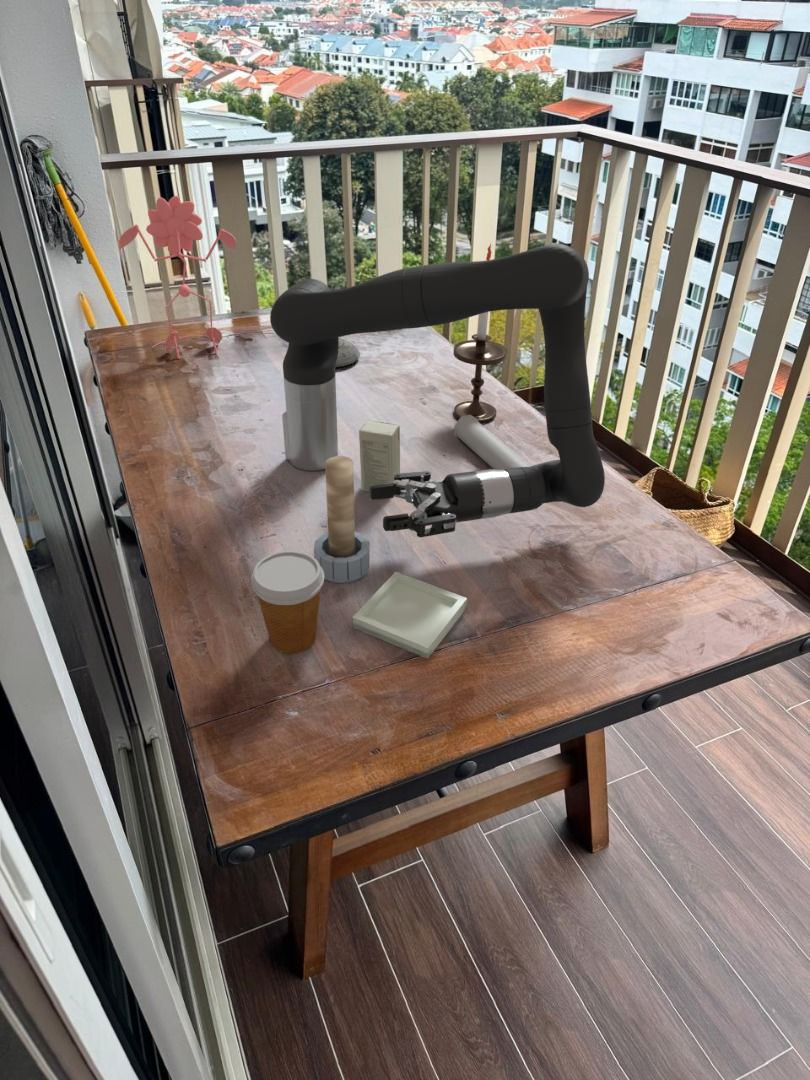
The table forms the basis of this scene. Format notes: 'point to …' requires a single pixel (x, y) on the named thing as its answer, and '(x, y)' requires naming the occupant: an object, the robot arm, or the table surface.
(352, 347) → the flying saucer
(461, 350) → the candlestick
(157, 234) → the figurine
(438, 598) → the tray
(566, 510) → the table surface
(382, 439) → the skincare box
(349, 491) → the dowel
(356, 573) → the holder
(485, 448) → the tube
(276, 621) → the disposable coffee cup
